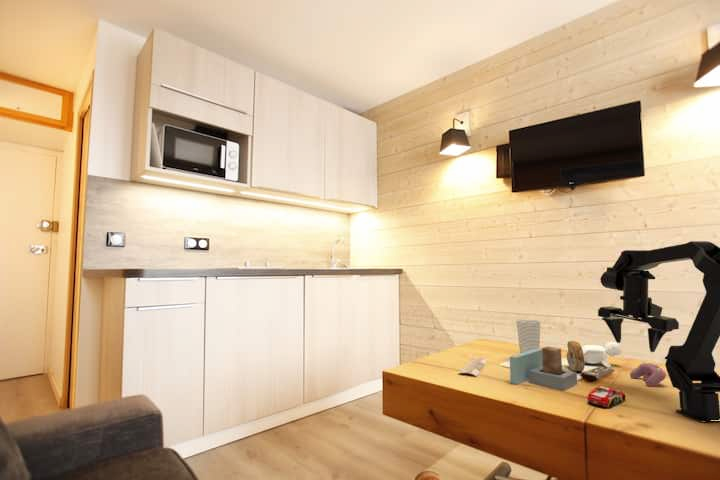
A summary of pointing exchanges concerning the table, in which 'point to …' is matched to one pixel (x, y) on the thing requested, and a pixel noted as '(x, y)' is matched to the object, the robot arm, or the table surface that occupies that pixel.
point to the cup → (528, 334)
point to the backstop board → (524, 365)
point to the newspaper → (474, 366)
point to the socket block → (553, 379)
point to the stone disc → (575, 356)
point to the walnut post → (552, 360)
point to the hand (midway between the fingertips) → (634, 347)
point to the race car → (606, 396)
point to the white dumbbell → (600, 353)
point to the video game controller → (649, 374)
